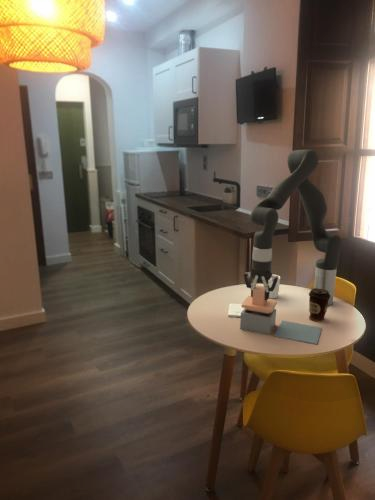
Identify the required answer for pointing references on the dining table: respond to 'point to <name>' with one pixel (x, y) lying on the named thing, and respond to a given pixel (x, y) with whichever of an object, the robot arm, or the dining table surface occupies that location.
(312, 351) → the dining table surface
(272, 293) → the white cup
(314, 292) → the coffee cup
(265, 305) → the lid
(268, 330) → the storage box
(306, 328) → the mat
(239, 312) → the external hard drive
